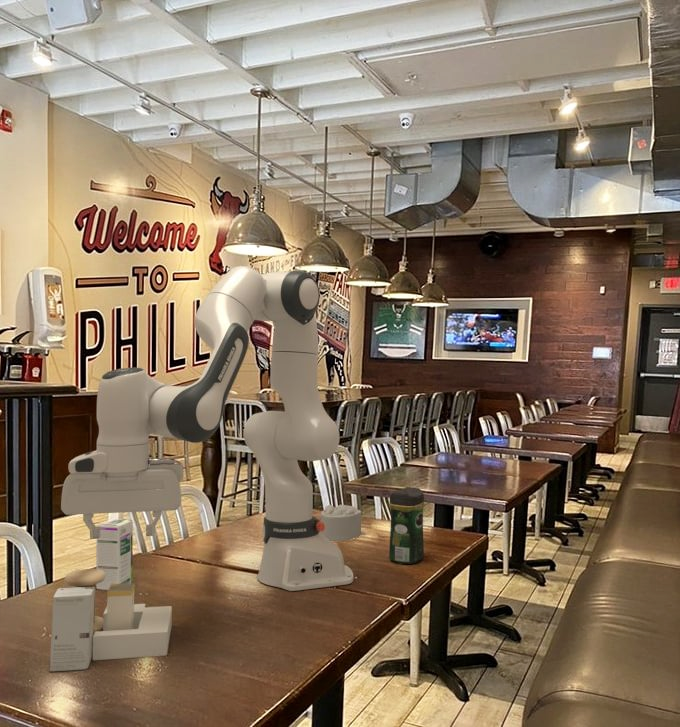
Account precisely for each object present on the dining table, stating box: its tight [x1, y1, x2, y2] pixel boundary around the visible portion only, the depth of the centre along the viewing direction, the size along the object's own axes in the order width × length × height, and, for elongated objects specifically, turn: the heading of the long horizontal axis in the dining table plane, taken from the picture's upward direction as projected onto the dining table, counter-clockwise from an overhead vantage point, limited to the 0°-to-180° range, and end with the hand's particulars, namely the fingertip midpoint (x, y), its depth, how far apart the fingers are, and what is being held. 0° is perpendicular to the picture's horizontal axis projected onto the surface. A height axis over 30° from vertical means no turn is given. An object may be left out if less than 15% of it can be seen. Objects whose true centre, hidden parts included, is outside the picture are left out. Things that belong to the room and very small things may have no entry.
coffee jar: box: [388, 486, 425, 565], centre depth 166 cm, size 10×8×19 cm
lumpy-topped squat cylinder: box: [319, 504, 362, 542], centre depth 188 cm, size 10×13×9 cm
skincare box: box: [49, 586, 96, 672], centre depth 105 cm, size 6×4×12 cm
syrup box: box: [95, 518, 134, 591], centre depth 143 cm, size 6×6×14 cm
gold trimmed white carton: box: [106, 582, 136, 631], centre depth 113 cm, size 4×4×10 cm
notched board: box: [92, 603, 173, 661], centre depth 115 cm, size 12×14×4 cm
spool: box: [64, 568, 105, 635], centre depth 120 cm, size 7×7×10 cm
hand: (123, 536), depth 114 cm, fingers open, 8 cm apart
